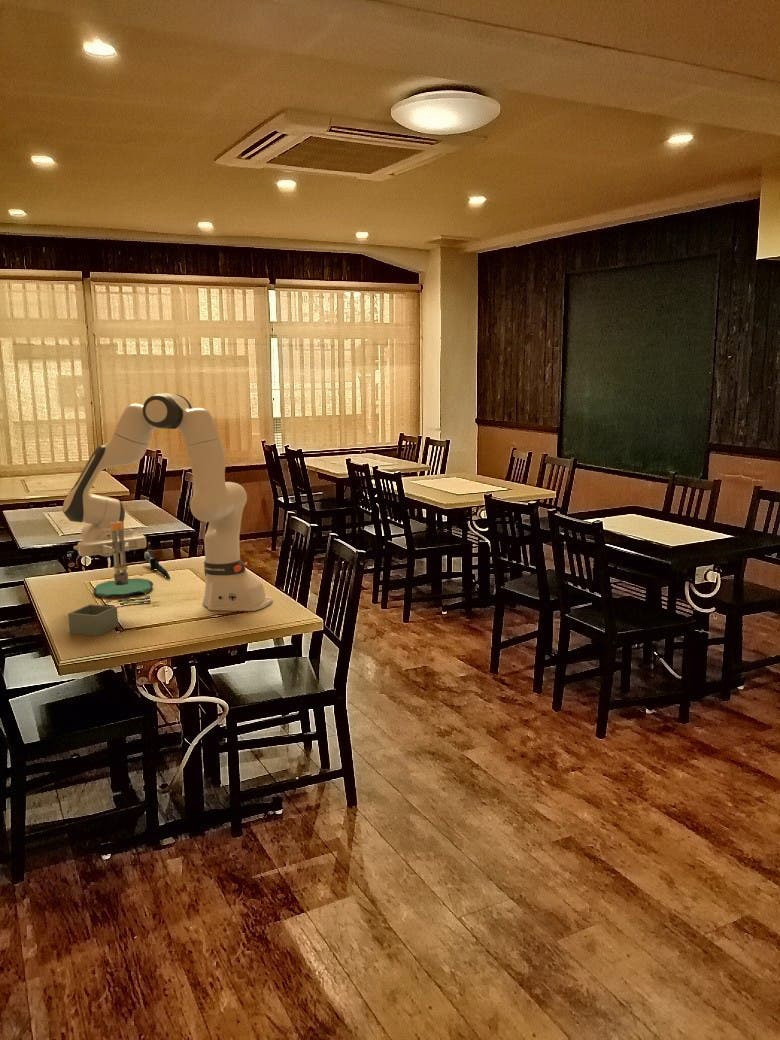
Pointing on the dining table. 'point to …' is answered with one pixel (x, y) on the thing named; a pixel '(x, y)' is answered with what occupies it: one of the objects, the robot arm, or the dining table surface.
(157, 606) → the dining table surface
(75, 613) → the open box
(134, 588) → the green cutting board
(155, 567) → the knife
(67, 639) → the dining table surface
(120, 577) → the tongs
